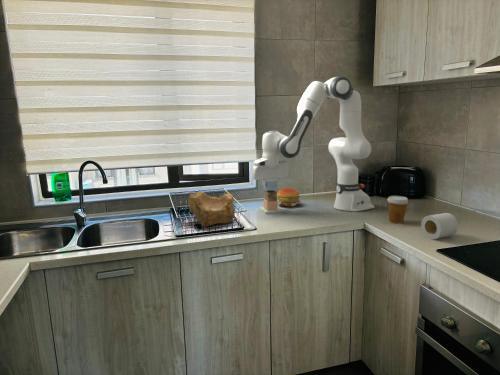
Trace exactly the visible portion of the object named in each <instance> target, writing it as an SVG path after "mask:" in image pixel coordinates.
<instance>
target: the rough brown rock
mask: <svg viewBox="0 0 500 375" xmlns="http://www.w3.org/2000/svg"><path fill="white" fill-rule="evenodd" d="M187 202H188V203H187V205H188V208H189V212H190V213H192V214H193V215H194V218H195V219H196V221H198V222H199V223H200V225H201V227H203V228H205V227H209V226H212V225H215V224H230V222H232V220H233V219H234V217H235V205H234V195H233V194H231V193H224V194H223V195H221V196H219V197H218V196H217V197H216V196H209V195H208V194H206V192H203V191H198V192H196V193H191V194H189V195H188V198H187Z"/></svg>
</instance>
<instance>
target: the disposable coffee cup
mask: <svg viewBox="0 0 500 375" xmlns="http://www.w3.org/2000/svg"><path fill="white" fill-rule="evenodd" d="M386 202H387V204H388V205H387V206H388V216H389V217H388V220H389V223H392V224H403V223H404V220H405V214H406V210H407V205H408V203H409V199H408V197H406V196H401V195H391V196H388V198H387V199H386Z"/></svg>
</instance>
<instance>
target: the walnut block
mask: <svg viewBox="0 0 500 375" xmlns="http://www.w3.org/2000/svg"><path fill="white" fill-rule="evenodd" d="M263 195H264V196H263V197H264V198H263V200H264V199H265V200H266V201H268V202H271V201H277V200H278V197H277V196H278V191H277V190H271V191H268V190H265V189H264V194H263Z"/></svg>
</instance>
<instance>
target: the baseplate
mask: <svg viewBox="0 0 500 375" xmlns="http://www.w3.org/2000/svg"><path fill="white" fill-rule="evenodd" d="M258 210H260V211H261V212H262V213H263V214H264V215H267V214H274V213H275V214H276V213H283V212H284V210H283V209H281V208H280V207H278V210H270V211H267V210H266V209H264V206H260V207H258Z"/></svg>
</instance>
